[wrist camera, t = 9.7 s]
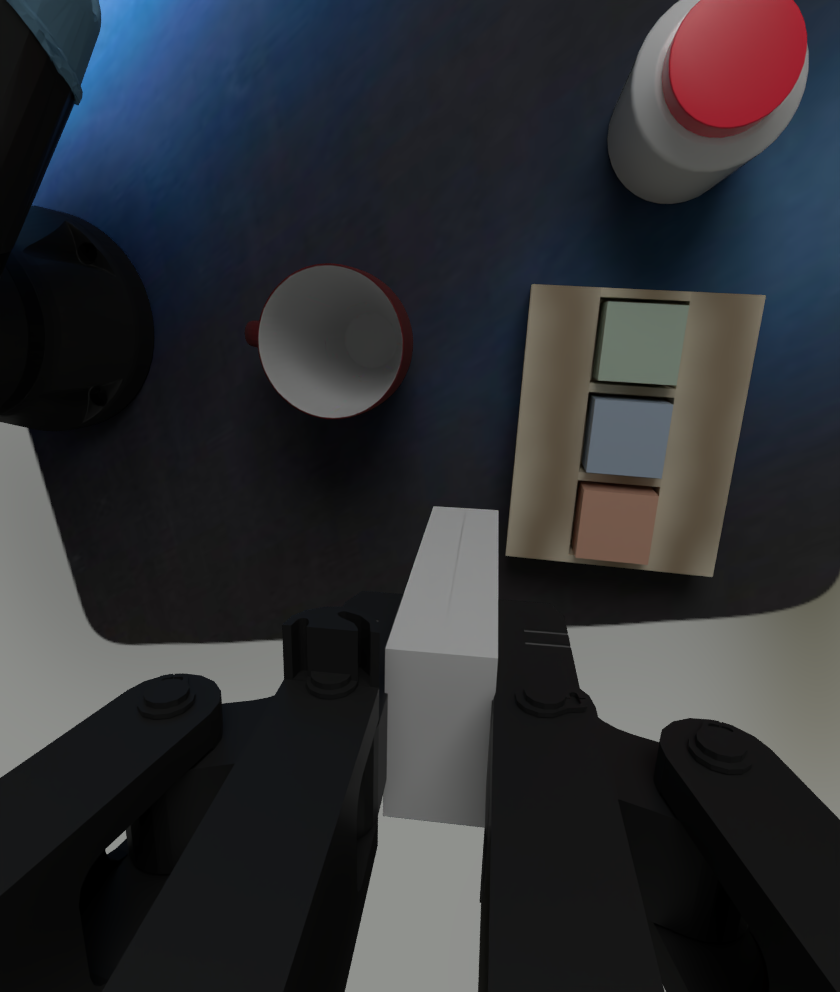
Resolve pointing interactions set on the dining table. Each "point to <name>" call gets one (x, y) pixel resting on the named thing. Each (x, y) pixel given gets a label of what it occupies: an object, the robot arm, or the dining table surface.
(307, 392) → the mug
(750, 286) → the dining table surface
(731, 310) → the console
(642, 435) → the tile slate
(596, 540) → the tile terracotta
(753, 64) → the pill bottle
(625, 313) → the tile sage
